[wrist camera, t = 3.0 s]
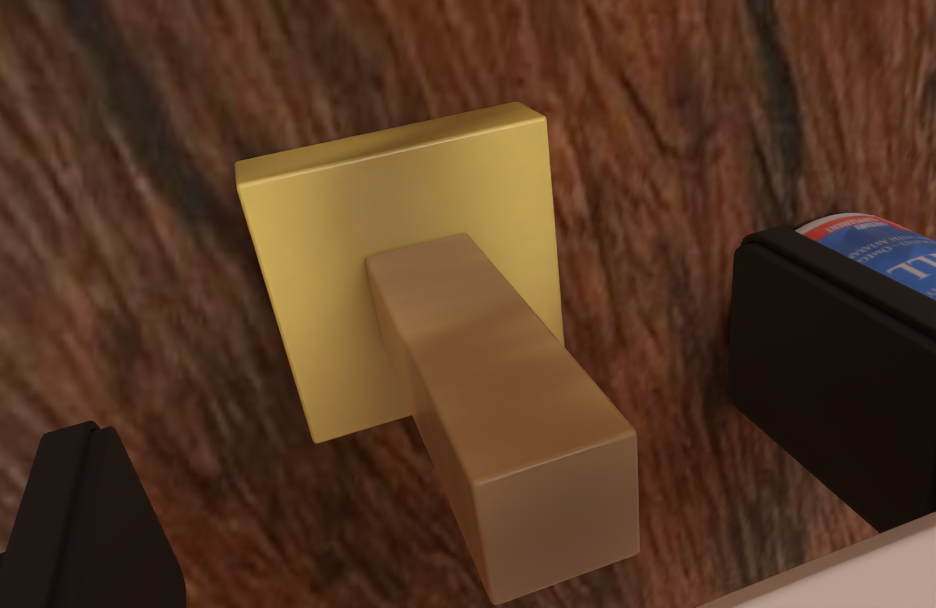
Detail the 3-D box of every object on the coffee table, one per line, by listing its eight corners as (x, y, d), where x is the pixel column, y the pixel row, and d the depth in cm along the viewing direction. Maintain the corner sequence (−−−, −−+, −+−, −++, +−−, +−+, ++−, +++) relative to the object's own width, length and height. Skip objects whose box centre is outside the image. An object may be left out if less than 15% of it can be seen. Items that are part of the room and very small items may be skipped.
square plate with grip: (517, 99, 14) (790, 246, 8) (541, 337, 17) (757, 601, 10) (232, 161, 13) (254, 396, 7) (305, 405, 16) (375, 752, 9)
